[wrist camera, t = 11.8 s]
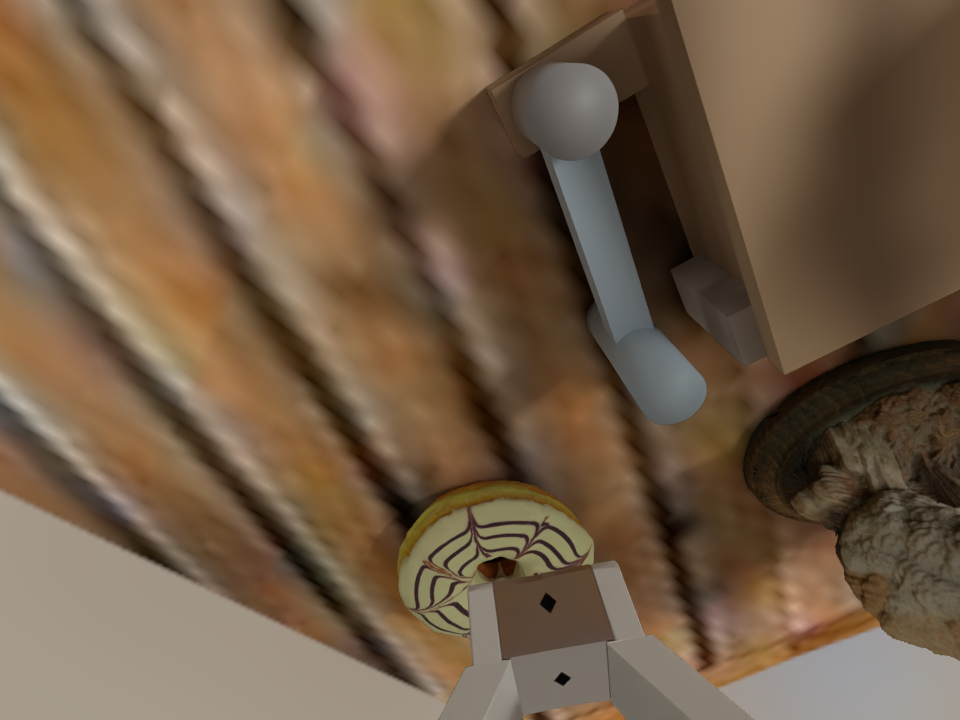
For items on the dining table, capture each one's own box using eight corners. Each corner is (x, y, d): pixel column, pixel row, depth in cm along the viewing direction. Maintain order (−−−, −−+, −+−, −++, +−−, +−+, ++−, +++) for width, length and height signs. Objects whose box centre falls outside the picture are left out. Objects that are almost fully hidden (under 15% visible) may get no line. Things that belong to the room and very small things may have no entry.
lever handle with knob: (492, 80, 20) (526, 91, 14) (557, 48, 20) (620, 45, 14) (594, 349, 26) (648, 436, 20) (645, 327, 26) (715, 408, 20)
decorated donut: (524, 612, 36) (536, 669, 33) (370, 573, 33) (366, 631, 29) (613, 500, 32) (637, 551, 29) (448, 442, 29) (454, 492, 25)
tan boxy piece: (832, -136, 19) (1037, -228, 12) (884, 202, 25) (1039, 250, 19) (482, 82, 21) (512, 94, 15) (610, 345, 27) (669, 430, 21)
